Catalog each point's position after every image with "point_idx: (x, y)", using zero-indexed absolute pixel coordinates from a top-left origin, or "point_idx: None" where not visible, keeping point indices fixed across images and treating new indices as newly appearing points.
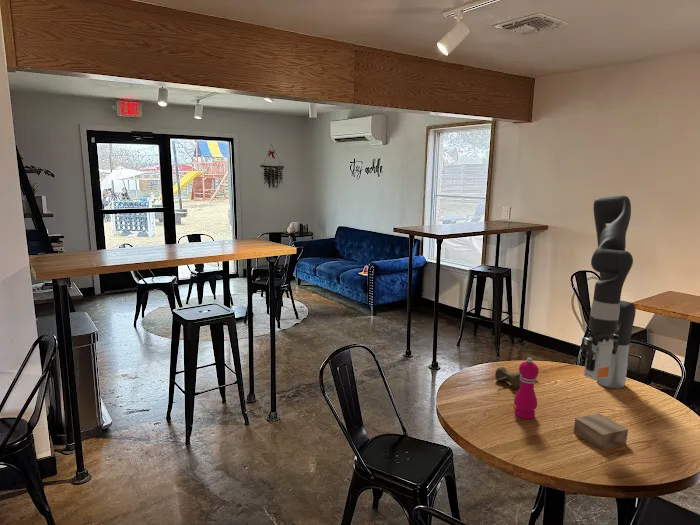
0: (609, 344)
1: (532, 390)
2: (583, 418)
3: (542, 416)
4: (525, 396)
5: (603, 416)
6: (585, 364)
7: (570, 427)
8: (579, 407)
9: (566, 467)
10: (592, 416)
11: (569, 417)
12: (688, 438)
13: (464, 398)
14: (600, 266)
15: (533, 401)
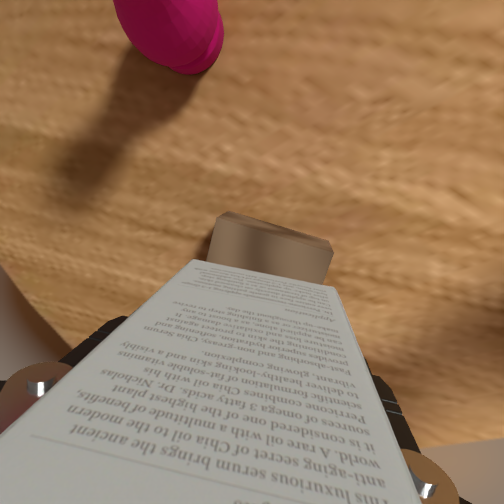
0: None
1: (137, 7)
2: (240, 235)
3: (236, 84)
4: (116, 9)
5: (320, 271)
6: (155, 294)
7: (249, 188)
8: (433, 123)
9: (63, 284)
10: (285, 248)
11: (314, 147)
12: (487, 427)
13: None
14: None
15: (152, 49)
